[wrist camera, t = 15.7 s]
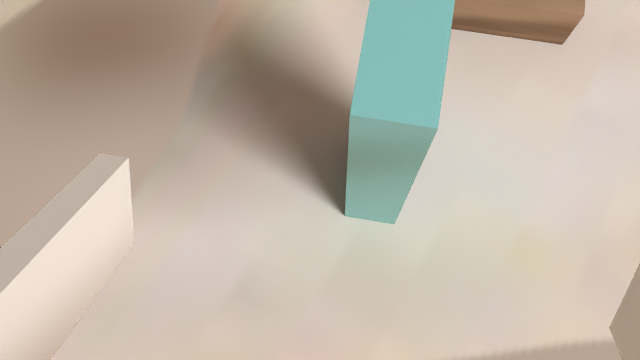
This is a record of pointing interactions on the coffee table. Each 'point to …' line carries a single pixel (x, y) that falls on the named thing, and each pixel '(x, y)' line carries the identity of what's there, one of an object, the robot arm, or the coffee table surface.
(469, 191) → the coffee table surface
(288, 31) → the coffee table surface
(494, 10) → the walnut box
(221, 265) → the coffee table surface
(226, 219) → the coffee table surface
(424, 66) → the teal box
